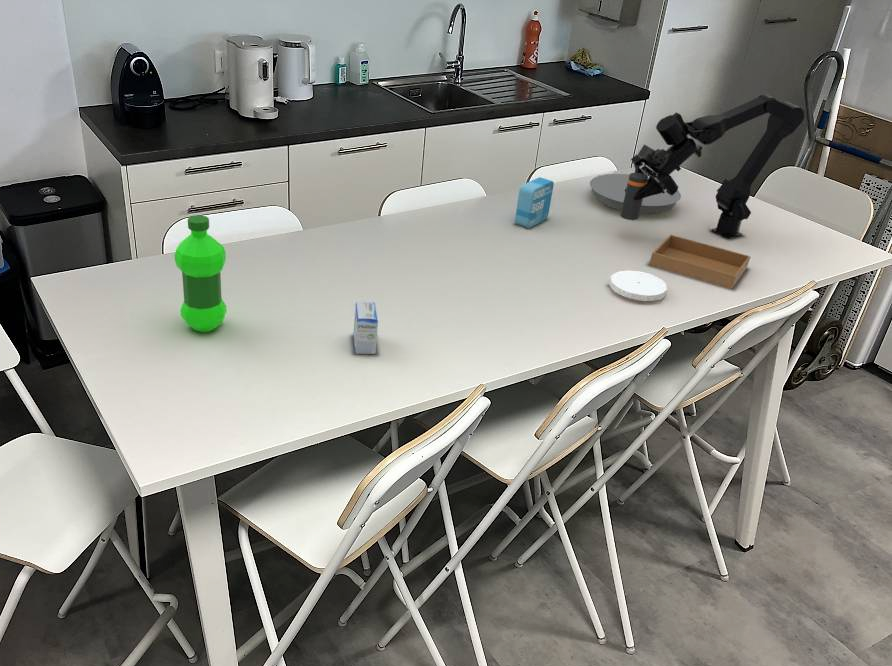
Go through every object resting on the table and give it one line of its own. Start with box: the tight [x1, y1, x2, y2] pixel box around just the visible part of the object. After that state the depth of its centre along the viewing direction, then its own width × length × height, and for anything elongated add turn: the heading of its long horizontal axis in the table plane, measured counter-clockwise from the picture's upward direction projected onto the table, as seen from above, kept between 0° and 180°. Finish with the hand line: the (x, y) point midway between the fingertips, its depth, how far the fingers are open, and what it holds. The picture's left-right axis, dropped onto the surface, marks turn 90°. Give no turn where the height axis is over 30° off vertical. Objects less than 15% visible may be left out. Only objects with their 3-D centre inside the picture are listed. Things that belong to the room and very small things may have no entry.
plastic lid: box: [608, 269, 668, 302], centre depth 215 cm, size 14×14×2 cm
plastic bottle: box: [174, 214, 227, 333], centre depth 181 cm, size 10×10×25 cm
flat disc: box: [589, 173, 682, 214], centre depth 268 cm, size 28×28×4 cm
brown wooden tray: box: [649, 234, 751, 290], centre depth 229 cm, size 16×22×4 cm
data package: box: [514, 176, 555, 229], centre depth 247 cm, size 12×4×12 cm, turn 141°
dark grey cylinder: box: [620, 172, 649, 221], centre depth 238 cm, size 5×5×12 cm
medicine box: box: [352, 301, 379, 355], centre depth 182 cm, size 8×4×9 cm, turn 5°
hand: (629, 195), depth 238 cm, fingers closed on dark grey cylinder, 5 cm apart
